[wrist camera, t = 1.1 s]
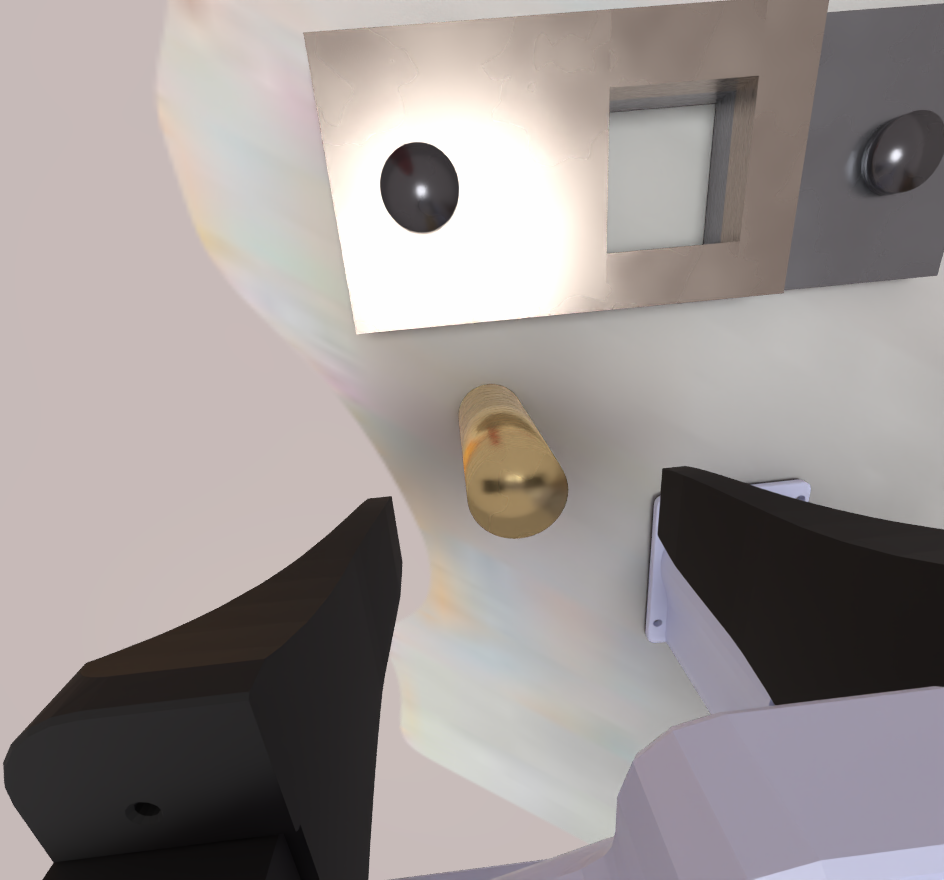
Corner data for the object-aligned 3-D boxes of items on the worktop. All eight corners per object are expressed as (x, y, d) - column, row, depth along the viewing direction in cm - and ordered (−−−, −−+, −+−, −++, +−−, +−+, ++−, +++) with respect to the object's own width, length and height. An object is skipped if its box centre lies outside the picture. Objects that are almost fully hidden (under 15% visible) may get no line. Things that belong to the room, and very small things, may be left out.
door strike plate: (972, 17, 16) (1083, -38, 13) (908, 275, 19) (987, 274, 17) (323, 68, 15) (297, 21, 13) (367, 327, 19) (353, 336, 16)
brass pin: (523, 442, 21) (568, 533, 13) (461, 448, 21) (472, 543, 13) (520, 381, 20) (567, 442, 12) (455, 387, 20) (462, 453, 12)
